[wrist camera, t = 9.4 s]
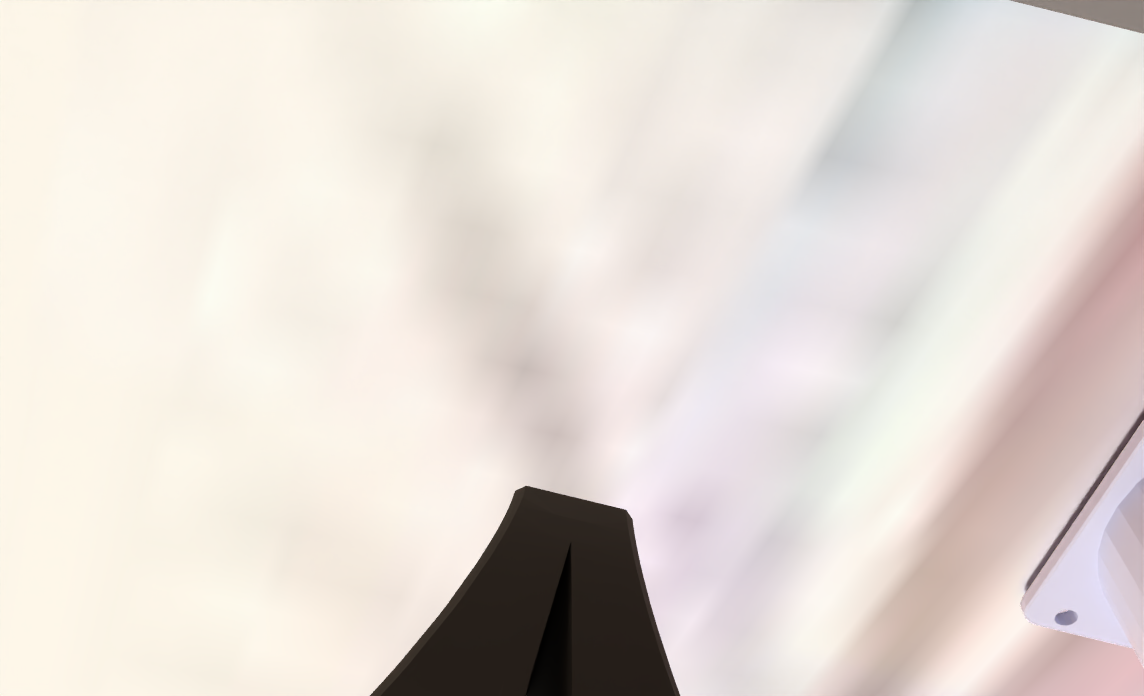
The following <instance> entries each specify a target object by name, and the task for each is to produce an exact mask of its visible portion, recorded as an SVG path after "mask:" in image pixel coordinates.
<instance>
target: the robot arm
mask: <svg viewBox="0 0 1144 696" xmlns="http://www.w3.org/2000/svg"><path fill="white" fill-rule="evenodd" d="M1020 605H1021V609H1022V612H1023V614H1024V616H1025V618H1026V619H1027V620H1028V621H1029V622H1030V623H1032V624H1034V625H1037V626H1041V627H1045V628H1050V629H1054V630H1058V631H1062V632H1066V633H1070V634H1075V635H1079V636H1083V637H1087V638H1091V639H1095V640H1099V641H1104V642H1108V643H1112V644H1116V645H1120V646H1124V647H1128V648H1133V649H1134V651H1135V653H1136V655H1137V657H1138V659H1139V661H1140V662H1141V664H1142V666H1143V668H1144V420H1143V421H1142V423H1141V424H1140V426H1139V427H1138V429H1137V430H1136V431H1135V433H1134V434H1133V436H1132V437H1131V439H1130V440H1129V442H1128V443H1127V445H1126V446H1125V448H1124V449H1123V451H1122V452H1121V454H1120V455H1119V456H1118V458H1117V459H1116V461H1115V462H1114V464H1113V465H1112V467H1111V468H1110V470H1109V471H1108V473H1107V474H1106V476H1105V477H1104V478H1103V480H1102V481H1101V483H1100V484H1099V486H1098V487H1097V489H1096V490H1095V492H1094V493H1093V495H1092V496H1091V498H1090V499H1089V500H1088V502H1087V503H1086V505H1085V506H1084V508H1083V509H1082V511H1081V512H1080V514H1079V515H1078V517H1077V518H1076V520H1075V521H1074V523H1073V524H1072V525H1071V527H1070V528H1069V530H1068V531H1067V533H1066V534H1065V536H1064V537H1063V539H1062V540H1061V542H1060V543H1059V545H1058V546H1057V547H1056V549H1055V550H1054V552H1053V553H1052V555H1051V556H1050V558H1049V559H1048V561H1047V562H1046V564H1045V565H1044V567H1043V568H1042V569H1041V571H1040V572H1039V574H1038V575H1037V577H1036V578H1035V580H1034V581H1033V583H1032V584H1031V586H1030V587H1029V589H1028V590H1027V592H1026V593H1025V594H1024V596H1023V597H1022V600H1021V602H1020ZM1064 610H1068V611H1067V612H1064V613H1059V612H1061V611H1064ZM370 696H680V694H679V691H678V688H677V686H676V683H675V680H674V677H673V674H672V671H671V668H670V665H669V662H668V659H667V656H666V653H665V650H664V647H663V644H662V641H661V637H660V634H659V631H658V628H657V625H656V622H655V618H654V615H653V611H652V608H651V604H650V601H649V597H648V593H647V589H646V585H645V581H644V578H643V573H642V569H641V565H640V560H639V556H638V551H637V546H636V540H635V534H634V528H633V520H632V518H631V517H630V515H629V514H628V512H627V511H626V510H624V509H620V508H616V507H612V506H608V505H604V504H599V503H595V502H591V501H587V500H583V499H579V498H575V497H570V496H566V495H562V494H558V493H554V492H550V491H546V490H541V489H537V488H533V487H529V486H525V487H523V488H521V489H518V490H516V491H515V493H514V496H513V499H512V501H511V504H510V506H509V508H508V511H507V513H506V515H505V517H504V519H503V521H502V523H501V524H500V526H499V528H498V530H497V532H496V533H495V535H494V537H493V538H492V540H491V542H490V543H489V545H488V546H487V548H486V550H485V551H484V553H483V554H482V556H481V558H480V559H479V561H478V562H477V564H476V565H475V567H474V568H473V569H472V571H471V572H470V573H469V575H468V576H467V578H466V579H465V580H464V582H463V583H462V585H461V586H460V587H459V589H458V590H457V592H456V593H455V594H454V596H453V597H452V599H451V600H450V601H449V603H448V604H447V606H446V607H445V608H444V609H443V611H442V612H441V613H440V615H439V616H438V617H437V618H436V620H435V621H434V622H433V623H432V624H431V626H430V627H429V628H428V629H427V630H426V632H425V633H424V634H423V635H422V636H421V638H420V639H419V640H418V641H417V643H416V644H415V645H414V646H413V647H412V649H411V650H410V651H409V652H408V653H407V655H406V656H405V657H404V658H403V659H402V661H401V662H400V663H399V664H398V665H397V666H396V668H395V669H394V670H393V671H392V672H391V673H390V674H389V675H388V676H387V678H386V679H385V680H384V681H383V682H382V683H381V684H380V685H379V686H378V688H377V689H376V690H375V691H374V692H373V693H372V694H371V695H370Z"/></svg>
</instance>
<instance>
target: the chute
mask: <svg viewBox="0 0 1144 696" xmlns="http://www.w3.org/2000/svg"><path fill="white" fill-rule="evenodd" d="M1011 1H1015V2H1019V3H1023V4H1027V5H1031V6H1035V7H1039V8H1043V9H1047V10H1051V11H1055V12H1059V13H1063V14H1067V15H1071V16H1075V17H1079V18H1083V19H1087V20H1091V21H1095V22H1099V23H1103V24H1107V25H1112V26H1116V27H1120V28H1124V29H1128V30H1132V31H1136V32H1140V33H1144V0H1011Z"/></svg>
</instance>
